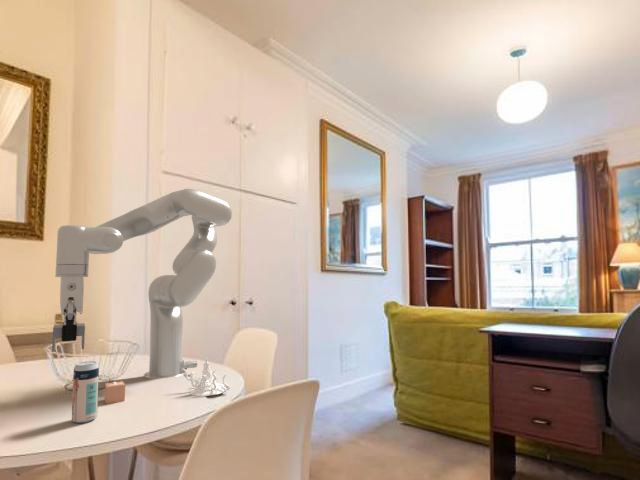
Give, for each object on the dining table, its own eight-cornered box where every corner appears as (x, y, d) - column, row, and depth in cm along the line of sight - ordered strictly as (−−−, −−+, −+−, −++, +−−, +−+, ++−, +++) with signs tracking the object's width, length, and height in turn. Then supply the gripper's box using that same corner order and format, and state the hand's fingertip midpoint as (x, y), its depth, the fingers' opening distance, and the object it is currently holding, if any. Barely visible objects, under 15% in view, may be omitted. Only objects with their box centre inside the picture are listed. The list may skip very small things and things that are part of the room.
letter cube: (122, 397, 103) (123, 380, 104) (124, 401, 100) (125, 383, 100) (104, 399, 101) (105, 382, 101) (106, 404, 98) (106, 386, 98)
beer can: (78, 416, 89) (80, 361, 90) (101, 415, 90) (102, 360, 91) (66, 424, 85) (69, 366, 85) (90, 423, 85) (92, 365, 86)
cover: (83, 345, 112) (84, 323, 112) (83, 349, 106) (85, 326, 106) (53, 347, 108) (54, 324, 109) (51, 352, 102) (53, 327, 103)
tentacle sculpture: (231, 393, 106) (231, 357, 107) (183, 398, 102) (183, 361, 102) (225, 384, 115) (226, 350, 115) (181, 389, 110) (181, 354, 111)
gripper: (89, 271, 103) (86, 342, 102) (87, 271, 118) (84, 333, 117) (54, 271, 99) (50, 345, 98) (56, 271, 114) (53, 335, 113)
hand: (69, 338), depth 107 cm, fingers closed on cover, 7 cm apart
